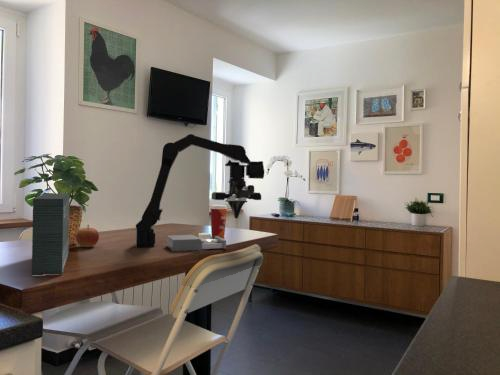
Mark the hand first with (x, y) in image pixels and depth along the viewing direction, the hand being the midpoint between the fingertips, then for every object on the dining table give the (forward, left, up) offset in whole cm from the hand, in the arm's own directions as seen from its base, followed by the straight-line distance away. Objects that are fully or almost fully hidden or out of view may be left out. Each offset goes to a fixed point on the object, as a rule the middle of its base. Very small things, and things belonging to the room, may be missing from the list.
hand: (236, 218), depth 157 cm
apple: (-53, +10, -11) cm, 55 cm away
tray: (-11, 0, -10) cm, 15 cm away
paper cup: (+1, +24, -11) cm, 26 cm away
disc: (-11, 0, -10) cm, 15 cm away
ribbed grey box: (-63, -17, -11) cm, 66 cm away
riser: (-9, +11, -11) cm, 18 cm away
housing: (-20, 0, -11) cm, 23 cm away
